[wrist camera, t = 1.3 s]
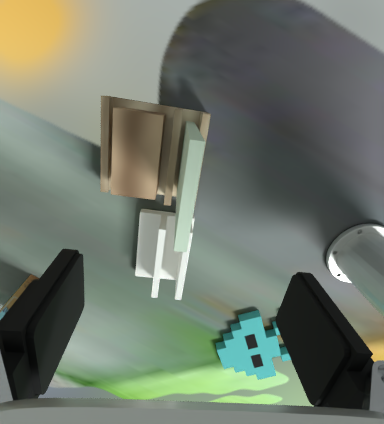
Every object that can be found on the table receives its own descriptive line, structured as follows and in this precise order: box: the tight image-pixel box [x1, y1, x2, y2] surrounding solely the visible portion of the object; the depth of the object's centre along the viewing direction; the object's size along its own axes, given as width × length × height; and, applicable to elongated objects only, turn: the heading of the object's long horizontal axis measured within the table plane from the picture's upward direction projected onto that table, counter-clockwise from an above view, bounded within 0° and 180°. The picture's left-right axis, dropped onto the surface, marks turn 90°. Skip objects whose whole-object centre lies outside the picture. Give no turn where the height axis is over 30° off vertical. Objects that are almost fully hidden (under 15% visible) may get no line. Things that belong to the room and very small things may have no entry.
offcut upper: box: [111, 107, 165, 200], centre depth 33 cm, size 6×11×2 cm, turn 171°
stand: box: [135, 209, 195, 300], centre depth 42 cm, size 9×13×6 cm
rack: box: [101, 96, 211, 209], centre depth 36 cm, size 14×13×6 cm
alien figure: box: [216, 310, 291, 380], centre depth 56 cm, size 20×2×20 cm
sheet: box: [174, 121, 206, 252], centre depth 29 cm, size 1×10×18 cm, turn 172°
